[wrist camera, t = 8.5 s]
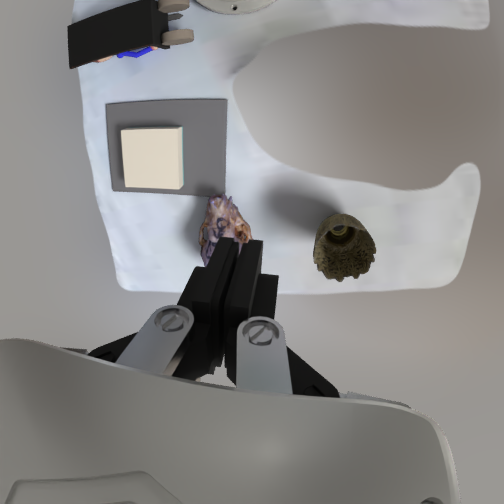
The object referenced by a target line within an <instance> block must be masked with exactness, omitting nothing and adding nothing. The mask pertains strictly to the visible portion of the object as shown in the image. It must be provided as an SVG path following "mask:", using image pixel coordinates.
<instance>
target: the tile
mask: <svg viewBox="0 0 504 504" xmlns="http://www.w3.org/2000/svg"><path fill="white" fill-rule="evenodd" d="M121 140H122V154H123V166H124V177H125V187H137V188H160V189H180V188H181V187H182V186H183V185H184V167H183V126H161V127H130V128H126V129H123V130H121Z"/></svg>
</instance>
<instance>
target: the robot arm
mask: <svg viewBox="0 0 504 504" xmlns="http://www.w3.org/2000/svg"><path fill="white" fill-rule="evenodd" d="M196 1H197V2H198V3H199V4H201V5H202V6H204V7H206V8H207V9H209V10H212V11H214V12H217V13H222V14H227V15H240V14H248V13H251V12H255V11H258V10H260V9H263V8H265V7H267V6H268V5H270V4H272V3H273V2H275V1H276V0H196ZM235 7H236V8H237V10H233V8H235ZM262 251H263V241H261V240H251V239H249V241H248V243H244V242H243V244H242V247H241V251H240V254H239V242H235V239H234V238H231V237H221V236H220V237H219V239H218V242H217V244H216V246H215V248H214V251H213V253H212V255H211V257H210V259H209V262H208V264H207V266H206V267H199V266H196V267H195V269H194V270H193V272H192V274H191V276H190V279H189V281H188V283H187V285H186V287H185V289H184V291H183V293H182V295H181V297H180V299H179V301H178V303H177V305H168V306H164V307H162V308H159V309H157V310H156V311H155V312H154V313H153V314H152V315H151V316H150V318H149V319H148V320H147V321H146V323H145V324H144V325H143V327H142V328H141V329H140V330H139V332H137V333H134V334H132V335H129V336H126V337H124V338H121V339H119V340H116V341H114V342H111V343H108V344H106V345H103V346H101V347H98V348H96V349H94V350H92V351H91V352H90V353H88V351H87V349H74V348H61V347H57V346H53V345H49V344H46V343H43V342H39V341H34V340H29V339H19V338H12V339H2V340H0V504H461V500H460V499H461V498H460V490H459V484H458V478H457V473H456V468H455V464H454V460H453V456H452V452H451V449H450V446H449V443H448V440H447V438H446V436H445V434H444V432H443V430H442V429H441V427H440V426H439V425H438V423H437V422H435V421H434V420H433V419H432V418H430V417H428V416H427V415H425V414H423V413H421V412H419V411H416V410H413V409H411V408H410V407H409V406H408V405H406V404H403V403H401V402H396V401H391V400H386V399H381V398H376V397H371V396H367V395H362V394H357V393H353V392H347V394H343V393H339V392H338V390H337V389H336V388H335V387H334V386H333V385H332V384H331V383H330V382H328V381H327V380H326V379H325V378H324V377H323V376H321V375H320V374H319V373H318V372H317V371H315V370H314V369H313V368H312V367H311V366H309V365H308V364H307V363H306V362H305V361H304V360H302V359H301V358H300V357H299V356H298V355H297V354H295V353H294V352H293V351H292V350H291V349H290V348H288V347H287V346H286V340H285V333H284V330H283V327H282V326H281V325H280V324H279V323H278V322H277V321H275V320H274V315H275V306H276V297H277V288H278V278H279V275H269V274H261V265H262ZM224 354H225V355H224ZM224 356H225V368H227V377H228V378H229V379H230V380H231V381H232V382H233V383H234V384H235V385H236V388H235V387H228V386H222V385H215V384H209V383H204V382H200V377H202V376H204V375H205V374H214V371H215V367H216V366H217V367H221V364H222V360H223V357H224Z"/></svg>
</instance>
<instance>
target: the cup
mask: <svg viewBox="0 0 504 504" xmlns="http://www.w3.org/2000/svg"><path fill="white" fill-rule="evenodd" d="M340 225H344V227H343V229H342V230H340V231H335V230H334V229H333V228H334V227H336V226H340ZM373 254H376V247H375V243H374V241H373V239H372V237H371V235H370V234H369V233H368V231H367V230H366V229H365V227H364V226H363V225H362V223H361V222H360V221H358V220H357V219H356V218H354V217H353V216H351V215H347V214H335V215H332V216H330V217H328V218H327V219H325V220H324V221H323V222H322V223H321V225H320V226H319V228H318V231H317V234H316V238H315V245H314V251H313V257H314V258H313V259H314V263H315V264H317V268H318V271H322V272H323V274H324V275H325V277H326V278H327V279H336V280H337V281H338V282H342V281H343V279H344V278H343V277H349V276H353V277H354V279H357V278H358V277H359V275H360V274H365V273H367V272H368V271H369V268H370V264H371V262H374V261H375V258H374V255H373Z"/></svg>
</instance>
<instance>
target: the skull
mask: <svg viewBox="0 0 504 504" xmlns="http://www.w3.org/2000/svg"><path fill="white" fill-rule="evenodd" d="M204 227H207V231H208V235H209V238H208V240H204V234H203V232H204V231H203V230H204ZM239 235H240V237H239ZM244 235H245V236H246V239H244ZM220 236H221V237H231V238H234V239H235V242H239V254H240V251H241V247H242V244H243V242H244V243H248V241H249V239H251V240H253V239H252V236H251V230H250V226H249V225H248V223H247V222H245V221H244V220H243V218H242V217H241V215H240V212H239V211H238V208H237V207H236V206H235V204H233V205H232V196H230V198H229V200H227V197H226V195H224V194H222V196H221V195H215V194H214V195H213V196H211V197H210V198H209V200H208V204H207V211H206V217H205V222H204V223H203V224H202V226H201V228H200V233H199V244H200V245H201V246H202V247H201V256H202V259H203V262H204V266H205V267H206V266H207V264H208V262H209V259H210V257H211V255H212V253H213V251H214V248H215V246H216V244H217V242H218V239H219V237H220Z"/></svg>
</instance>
